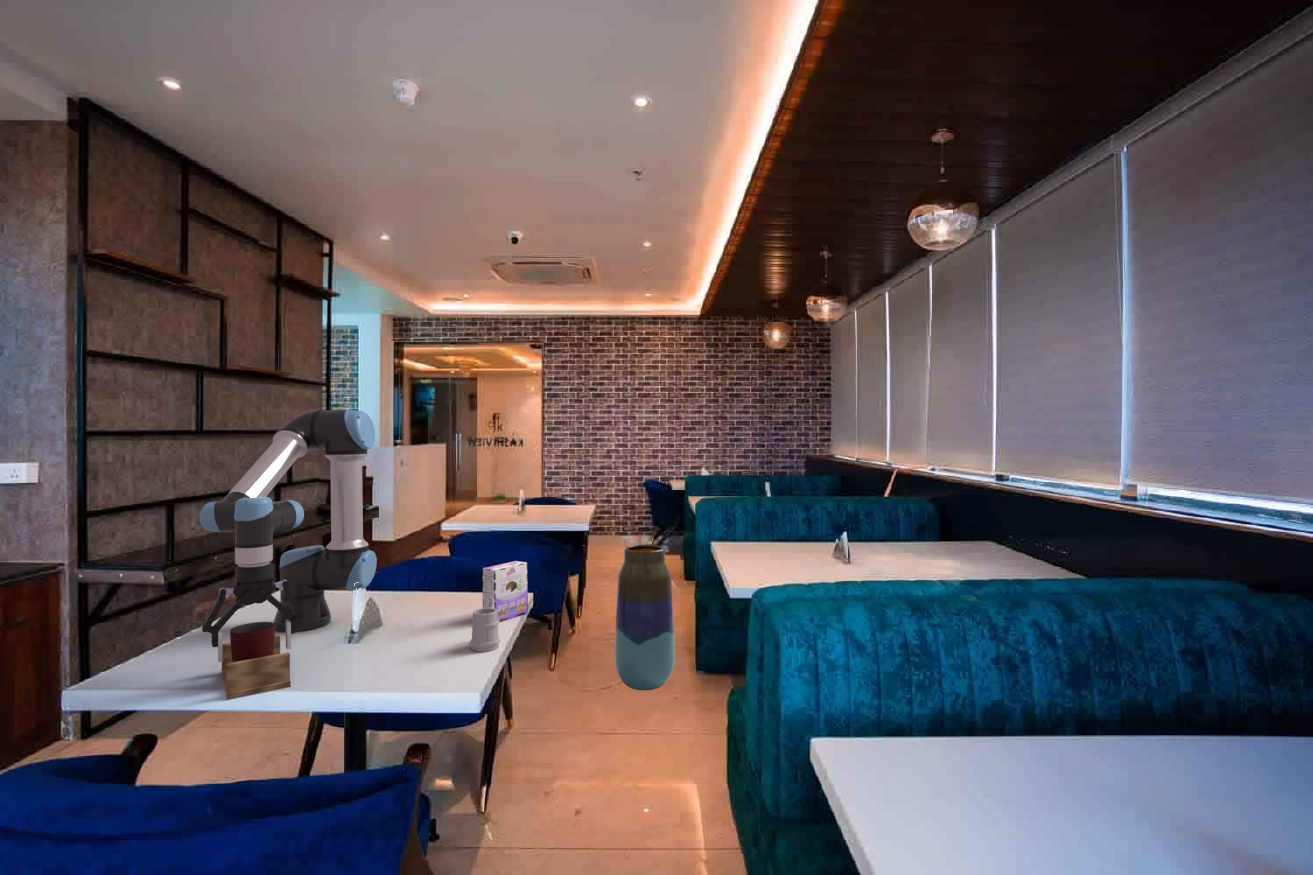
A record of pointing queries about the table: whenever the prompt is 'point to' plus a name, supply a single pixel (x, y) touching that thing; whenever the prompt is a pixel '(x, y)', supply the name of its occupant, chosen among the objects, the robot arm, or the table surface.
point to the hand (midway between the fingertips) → (255, 653)
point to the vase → (644, 619)
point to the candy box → (506, 589)
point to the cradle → (255, 672)
